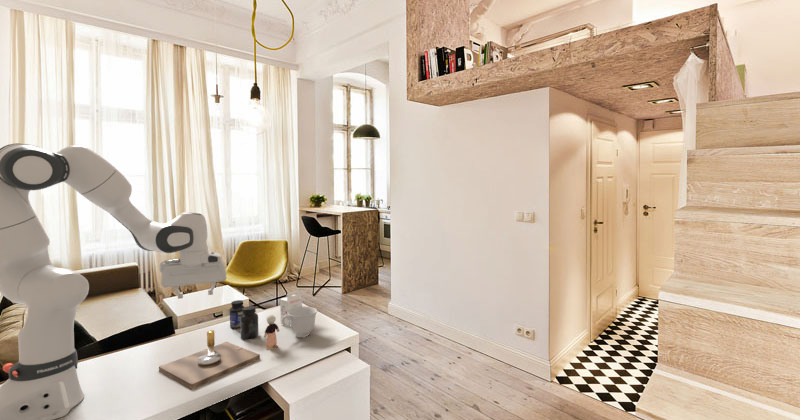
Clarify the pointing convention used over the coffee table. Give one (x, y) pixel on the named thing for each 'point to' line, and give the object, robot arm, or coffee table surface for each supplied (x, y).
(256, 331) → the supplement bottle
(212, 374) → the base plate
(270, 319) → the grandmother figurine
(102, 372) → the coffee table surface
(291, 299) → the ink cartridge box
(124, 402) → the coffee table surface
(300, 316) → the teacup
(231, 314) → the pill bottle
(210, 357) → the lever
